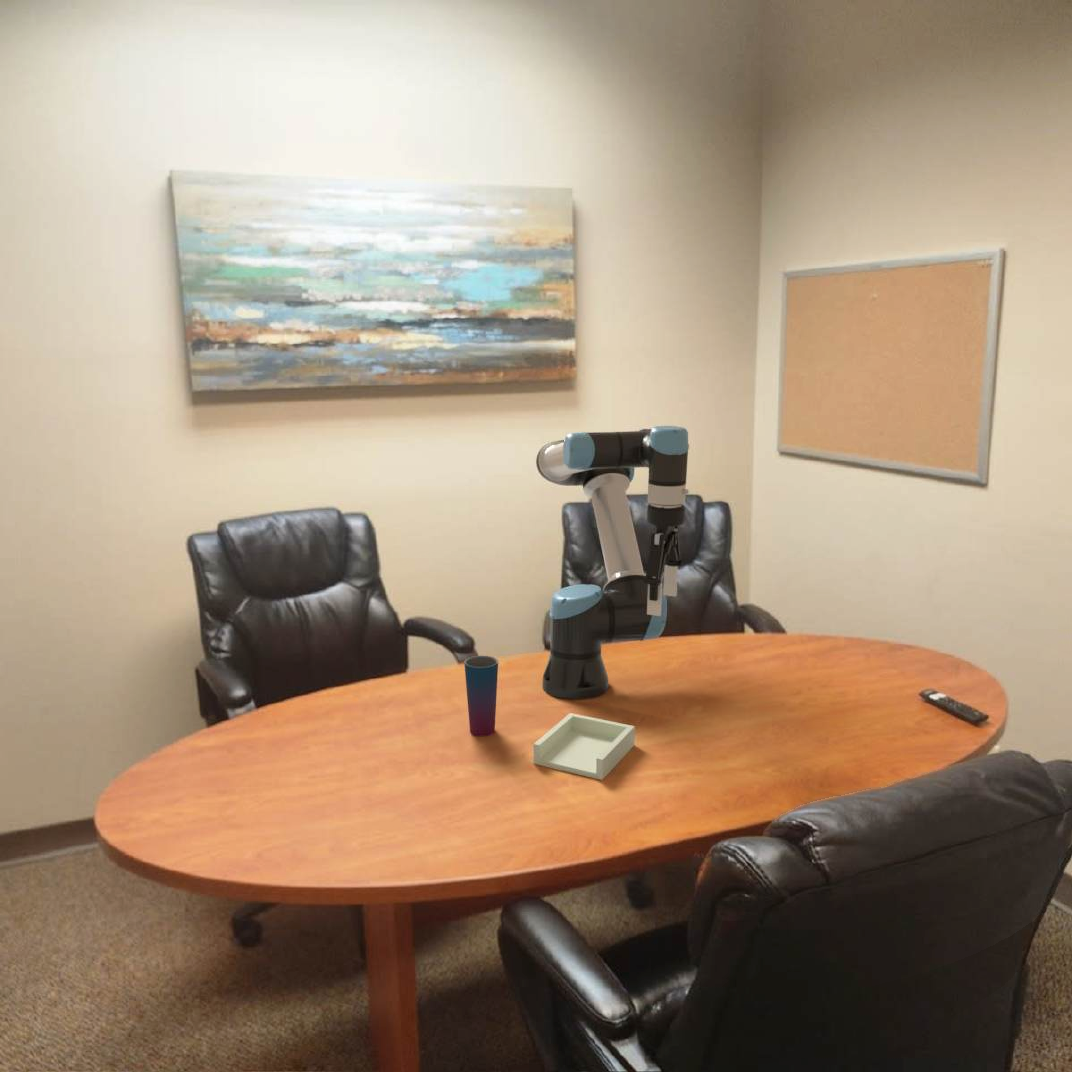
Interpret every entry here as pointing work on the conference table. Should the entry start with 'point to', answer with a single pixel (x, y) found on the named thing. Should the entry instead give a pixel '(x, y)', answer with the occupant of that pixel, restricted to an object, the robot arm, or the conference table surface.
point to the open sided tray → (584, 745)
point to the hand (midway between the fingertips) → (662, 604)
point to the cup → (481, 693)
